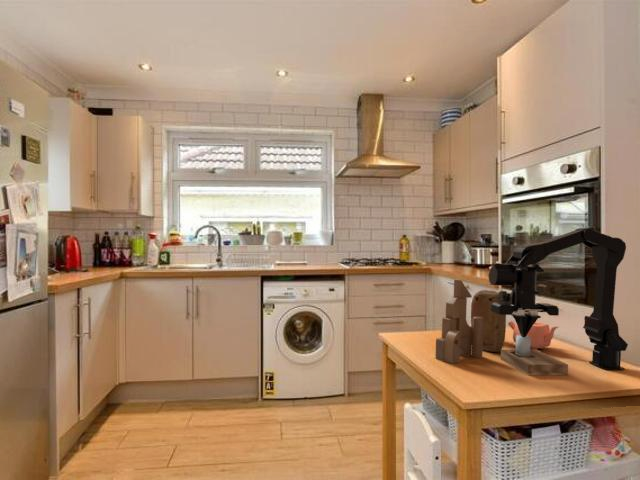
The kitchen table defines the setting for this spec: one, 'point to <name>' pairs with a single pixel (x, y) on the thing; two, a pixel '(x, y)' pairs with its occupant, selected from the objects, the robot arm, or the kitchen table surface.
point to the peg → (523, 346)
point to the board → (535, 363)
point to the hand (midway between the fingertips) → (523, 336)
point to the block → (489, 320)
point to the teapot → (536, 334)
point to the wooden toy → (459, 329)
